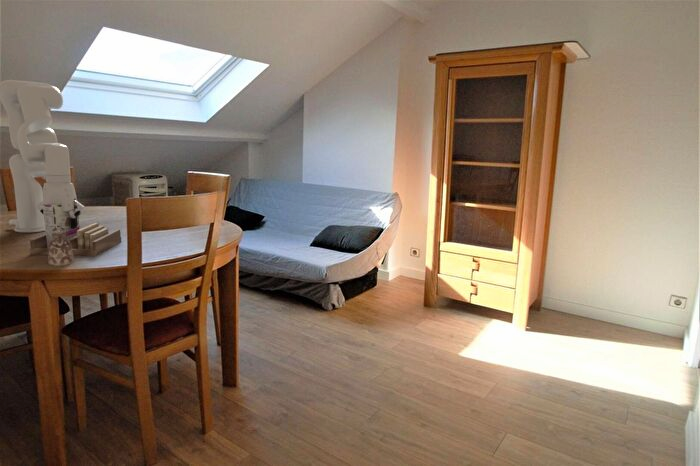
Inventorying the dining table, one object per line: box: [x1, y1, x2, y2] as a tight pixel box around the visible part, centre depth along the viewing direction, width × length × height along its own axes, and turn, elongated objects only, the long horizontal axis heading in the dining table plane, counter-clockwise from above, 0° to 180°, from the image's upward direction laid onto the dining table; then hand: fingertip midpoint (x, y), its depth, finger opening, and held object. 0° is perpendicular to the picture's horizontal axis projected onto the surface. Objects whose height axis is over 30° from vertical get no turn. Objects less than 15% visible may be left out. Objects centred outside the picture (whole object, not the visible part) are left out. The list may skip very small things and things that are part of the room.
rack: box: [29, 228, 122, 257], centre depth 172 cm, size 22×22×5 cm
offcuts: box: [77, 222, 109, 250], centre depth 172 cm, size 5×14×8 cm, turn 5°
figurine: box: [47, 226, 75, 267], centre depth 152 cm, size 7×7×12 cm
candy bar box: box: [43, 204, 81, 248], centre depth 171 cm, size 11×5×16 cm, turn 168°
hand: (62, 227), depth 171 cm, fingers open, 7 cm apart
